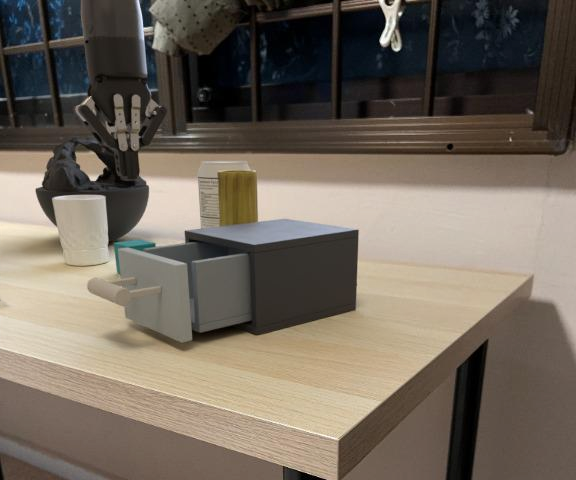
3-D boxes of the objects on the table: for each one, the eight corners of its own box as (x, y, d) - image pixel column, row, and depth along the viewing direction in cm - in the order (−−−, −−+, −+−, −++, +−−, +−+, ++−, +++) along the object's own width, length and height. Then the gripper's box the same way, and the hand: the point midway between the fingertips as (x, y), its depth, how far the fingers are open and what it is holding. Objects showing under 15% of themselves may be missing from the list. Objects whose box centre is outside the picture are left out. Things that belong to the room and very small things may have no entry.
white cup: (111, 256, 102) (104, 194, 98) (114, 265, 95) (106, 198, 91) (62, 259, 100) (52, 195, 96) (60, 268, 93) (50, 200, 89)
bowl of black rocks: (154, 248, 108) (143, 134, 101) (35, 253, 105) (16, 135, 97) (153, 232, 126) (144, 134, 119) (52, 236, 123) (37, 135, 116)
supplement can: (198, 258, 100) (192, 161, 94) (247, 255, 102) (244, 160, 96) (207, 268, 93) (202, 163, 87) (260, 264, 95) (257, 162, 89)
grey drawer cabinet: (256, 335, 62) (254, 244, 58) (189, 310, 71) (184, 230, 67) (356, 309, 71) (359, 229, 67) (285, 290, 79) (284, 218, 76)
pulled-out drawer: (135, 354, 54) (126, 272, 51) (81, 326, 62) (71, 254, 59) (290, 316, 65) (290, 247, 62) (228, 296, 73) (225, 234, 70)
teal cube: (130, 277, 87) (127, 246, 85) (116, 272, 90) (113, 242, 88) (158, 273, 89) (155, 243, 88) (143, 268, 93) (140, 239, 91)
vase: (270, 275, 87) (269, 170, 82) (238, 283, 83) (234, 173, 78) (242, 269, 91) (239, 169, 86) (210, 276, 87) (204, 171, 82)
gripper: (146, 44, 84) (158, 176, 91) (51, 36, 76) (71, 181, 83) (174, 38, 79) (184, 178, 86) (75, 28, 71) (94, 184, 78)
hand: (128, 179), depth 84 cm, fingers closed
